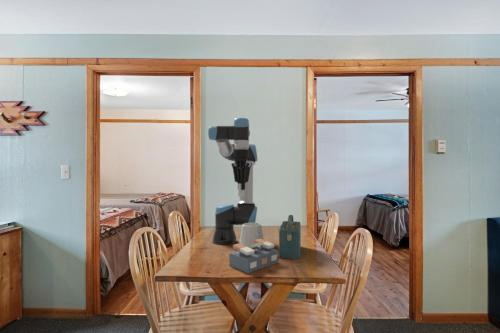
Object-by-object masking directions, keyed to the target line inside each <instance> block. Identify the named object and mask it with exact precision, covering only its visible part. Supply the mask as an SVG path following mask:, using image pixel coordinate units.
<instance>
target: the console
mask: <svg viewBox="0 0 500 333" xmlns="http://www.w3.org/2000/svg"><path fill="white" fill-rule="evenodd" d="M254 250H255V251H254V254H250V255H245V254H244V253H240V252H239V251H238V250H235V251H232V252H229V253H228V254H229V255H228V256H229V263H228V265H229V267H231V268H234V269H237V270H239V271H242V272H244V273H246V274H250V273H253V272H256V271H258V270H260V269H264V268H268V267H269V266H272V265H275V264H278V262H279V261H278V259H279V257H278V256H279V249H275V248H269V249H267V248H265V247H261V246H258V248H257V249H254Z"/></svg>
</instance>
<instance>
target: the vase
mask: <svg viewBox="0 0 500 333" xmlns="http://www.w3.org/2000/svg"><path fill="white" fill-rule="evenodd" d="M256 239H263V240H265V239H264V234H263V228H262V224H261V223H259V222H255V223H244V224H243V225H241V231H240V237H239V240H238V241H239V242H238V244H239V243H241V244H243V245H245V246H250V245H253V244H255V243H254V240H256Z"/></svg>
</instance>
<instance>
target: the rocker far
mask: <svg viewBox="0 0 500 333" xmlns="http://www.w3.org/2000/svg"><path fill="white" fill-rule="evenodd" d="M259 242H263V243H264V244H263V245H260V246H261V247H265V248H267V249H269V248H271V249H274V248H275V243H272V242H270V241H268V240H266V239H264V240H263V239H256V240H254V243H259Z"/></svg>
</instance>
